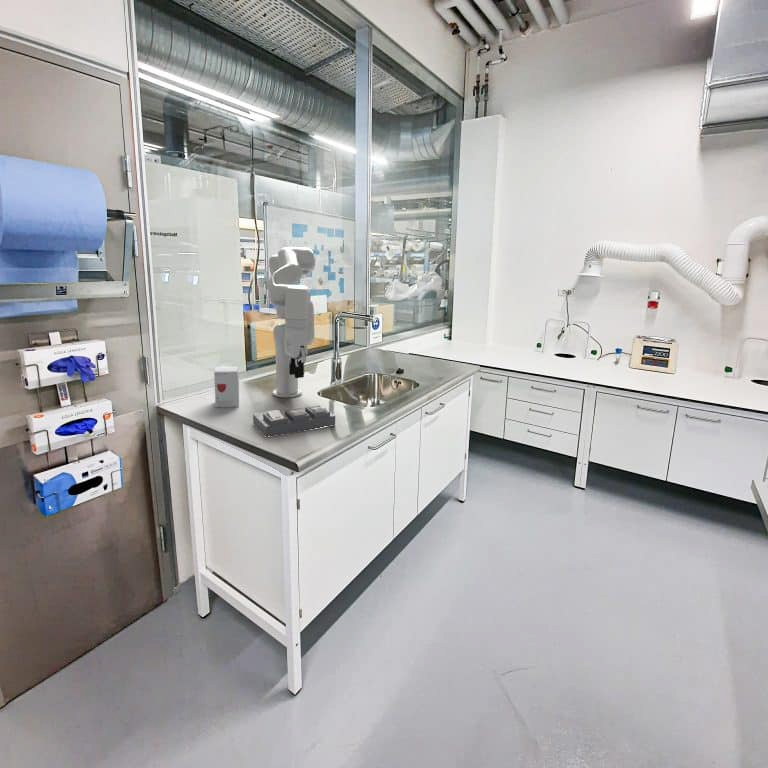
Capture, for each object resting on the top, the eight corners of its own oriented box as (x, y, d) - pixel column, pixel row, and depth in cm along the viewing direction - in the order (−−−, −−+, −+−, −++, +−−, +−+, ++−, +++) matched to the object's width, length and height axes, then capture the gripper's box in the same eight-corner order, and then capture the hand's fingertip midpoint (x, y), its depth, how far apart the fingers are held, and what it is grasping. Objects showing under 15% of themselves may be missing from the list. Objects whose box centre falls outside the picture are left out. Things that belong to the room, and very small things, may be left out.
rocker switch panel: (253, 424, 163) (252, 409, 161) (318, 414, 177) (319, 400, 175) (266, 437, 152) (265, 422, 150) (335, 425, 166) (335, 411, 164)
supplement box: (215, 408, 178) (213, 371, 174) (216, 401, 186) (215, 366, 182) (239, 407, 180) (237, 371, 176) (239, 400, 189) (238, 365, 185)
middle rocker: (288, 414, 162) (288, 410, 162) (299, 412, 164) (298, 409, 164) (295, 416, 157) (294, 412, 157) (305, 414, 159) (305, 410, 159)
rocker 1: (267, 414, 158) (267, 410, 157) (278, 412, 160) (278, 409, 159) (272, 422, 153) (273, 419, 153) (284, 421, 155) (284, 417, 155)
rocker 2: (309, 411, 167) (309, 407, 166) (319, 409, 169) (318, 406, 169) (316, 412, 162) (315, 409, 161) (326, 411, 164) (325, 407, 164)
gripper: (277, 320, 157) (277, 371, 162) (295, 327, 144) (295, 382, 149) (297, 320, 161) (297, 369, 166) (317, 327, 148) (316, 380, 153)
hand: (296, 375), depth 157 cm, fingers open, 4 cm apart
